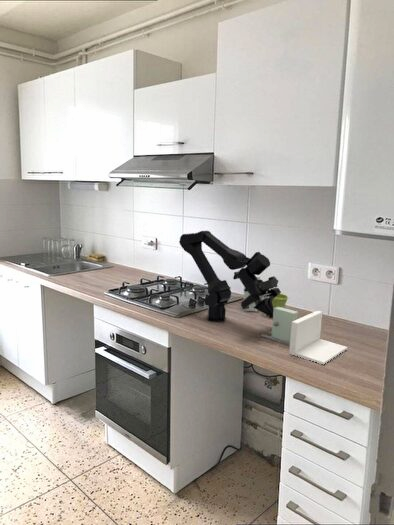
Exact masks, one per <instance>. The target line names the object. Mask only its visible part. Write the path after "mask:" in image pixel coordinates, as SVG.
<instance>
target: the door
mask: <svg viewBox="0 0 394 525" xmlns="http://www.w3.org/2000/svg"><path fill="white" fill-rule="evenodd" d="M298 316H299V311H297V310H293V309H288V308H286V307H285V308H282V307H276V308H274V311H273V319H272V322H271V323H272V327H271V332H272V335H270V336H271V337H274V338H277V339H280V340H283V341H286V342H289V343H290V338H291V327H292V322H293V321H295V320H297V319H299V318H298Z"/></svg>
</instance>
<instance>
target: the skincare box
mask: <svg viewBox="0 0 394 525" xmlns="http://www.w3.org/2000/svg"><path fill="white" fill-rule="evenodd" d="M255 276H256V277H257V278H258V280H260V279H261V274H260V275H255ZM243 287H244V286H243ZM244 289H245V287H244ZM244 289H243V291H244ZM249 295H250V294H249V293H248V291H247V292H245V291H244V292H243V300H244V299H246V298H247V297H248V296H249ZM255 306H256V305H255V303H252V304H251V305H249V308H248V309H245V310H243V311H246V312H258V311H259V310H257V309H254V307H255Z"/></svg>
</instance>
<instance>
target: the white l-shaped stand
mask: <svg viewBox="0 0 394 525" xmlns="http://www.w3.org/2000/svg"><path fill="white" fill-rule="evenodd" d="M322 319H323V311H320V310H315V311H313V312H312V313H308V314H306V315H305V316H301V317H299V318H298V319H297V320H295V321H293V322H292V327H291V338H290V343H289V342H286V341H283V340H280V339H277V338H274V337H271V336H272V330H271V331H270V330H268V331H267V334H264V333H262V334H261V337H262V338H265V339H269V340H271V341H275V342H278V343H281V344H283V345H287V346H289V352H288V354H289V355H292V356H294V355H295V357H297V356H298V357H297V358H300V357H301V358H300V359H303V358H304V359H303V360H306V359H307V360H306V361H309V360H311V361H310V362H312V361H314V362H313V363H315V362H317V363H316V364H318V363H321V364H325V363H326V364H328V363H329V362H331V361H332V360H334V359H335V358H337V357H338V356H340V355H341V354H343V353H345V352H346V351H347V350H348V346H345V345H341V344H338V343H336V342H335V343H334V342H332V341H329V340H325V339H322V338H321V331H322ZM345 350H346V351H345ZM342 352H343V353H342ZM340 353H341V354H340ZM339 354H340V355H339ZM337 355H338V356H337ZM336 356H337V357H336ZM334 357H335V358H334ZM333 358H334V359H333ZM331 359H332V360H331ZM330 360H331V361H330ZM328 361H329V362H328ZM327 362H328V363H327ZM321 364H320V365H321ZM326 364H325V365H326Z"/></svg>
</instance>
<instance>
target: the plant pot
mask: <svg viewBox="0 0 394 525" xmlns="http://www.w3.org/2000/svg"><path fill="white" fill-rule="evenodd" d="M288 299H289V296H288V295H287V294H284V293H280V294H279V295H278V296H276V297H275V298H274V299H273V300H272V305H273V309H274V308H276V307H282V308H286V304H287V302H288Z"/></svg>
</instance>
